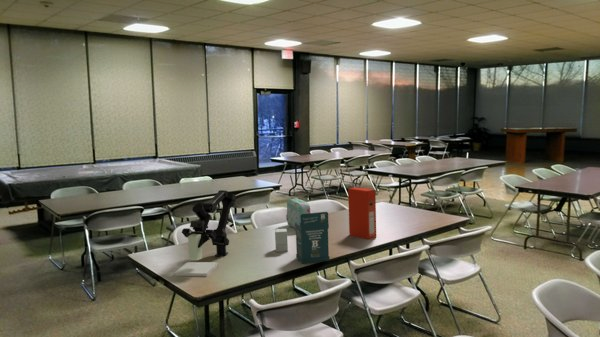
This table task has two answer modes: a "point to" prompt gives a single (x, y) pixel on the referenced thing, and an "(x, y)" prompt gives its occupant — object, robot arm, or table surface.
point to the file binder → (362, 212)
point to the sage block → (194, 247)
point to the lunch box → (296, 210)
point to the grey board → (196, 269)
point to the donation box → (312, 238)
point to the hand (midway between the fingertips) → (193, 247)
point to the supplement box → (281, 240)
